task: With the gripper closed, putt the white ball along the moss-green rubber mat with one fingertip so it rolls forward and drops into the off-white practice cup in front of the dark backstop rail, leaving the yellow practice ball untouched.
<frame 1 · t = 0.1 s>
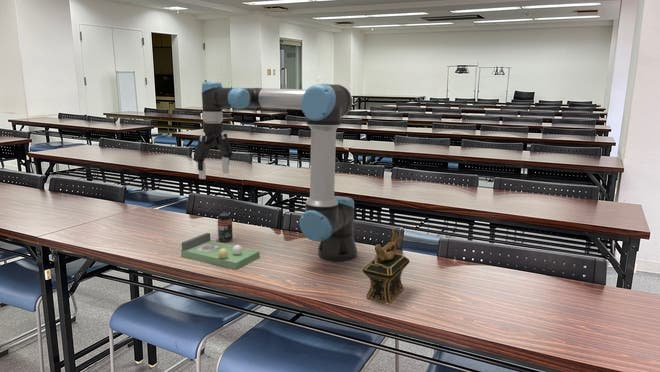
hand: (214, 176, 186), 28 cm above the table, fingers open, 13 cm apart
ball: (237, 249, 172), point 4 cm above the table, touching green
yellow ball: (223, 253, 168), point 4 cm above the table, touching green
green: (220, 256, 177), on the table
decorative box: (387, 292, 150), on the table
supplement bottle: (225, 240, 195), on the table
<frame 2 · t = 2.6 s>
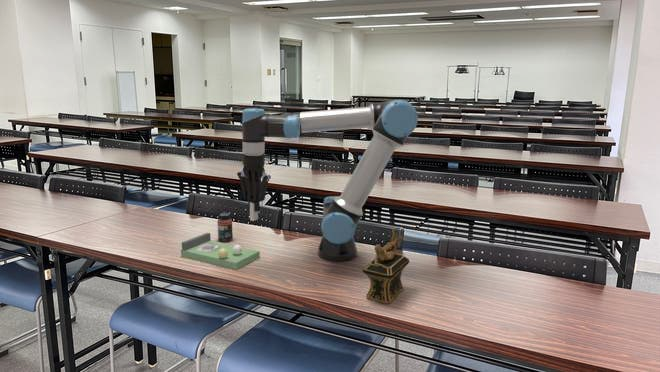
hand: (253, 219, 166), 17 cm above the table, fingers closed
nothing on the table moved.
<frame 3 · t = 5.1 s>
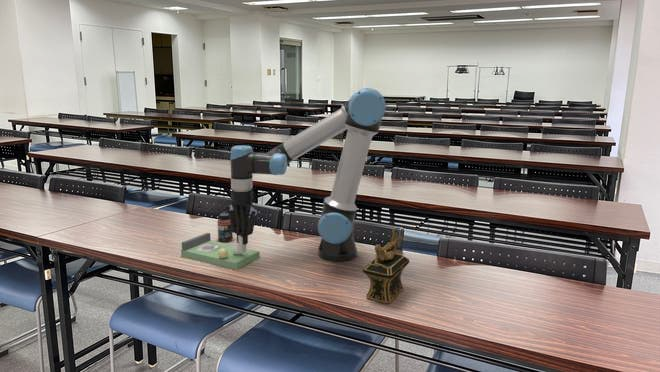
hand: (242, 252, 171), 4 cm above the table, fingers closed
ball: (237, 249, 172), point 4 cm above the table, touching green, gripper
everything else where it was.
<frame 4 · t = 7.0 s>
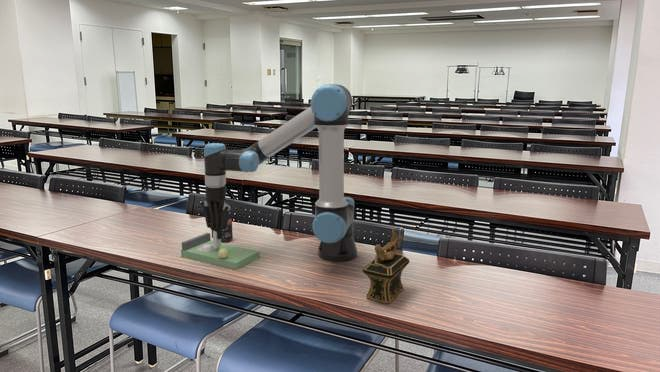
hand: (217, 246, 176), 4 cm above the table, fingers closed
ball: (206, 249, 179), point 2 cm above the table, tilted 140°
everything else where it was.
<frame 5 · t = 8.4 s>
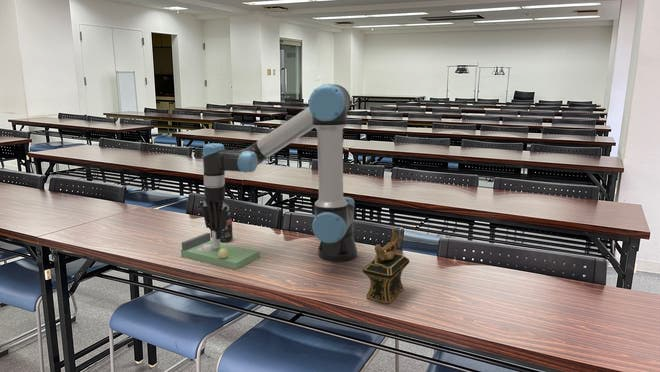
hand: (216, 246, 177), 4 cm above the table, fingers closed
nothing on the table moved.
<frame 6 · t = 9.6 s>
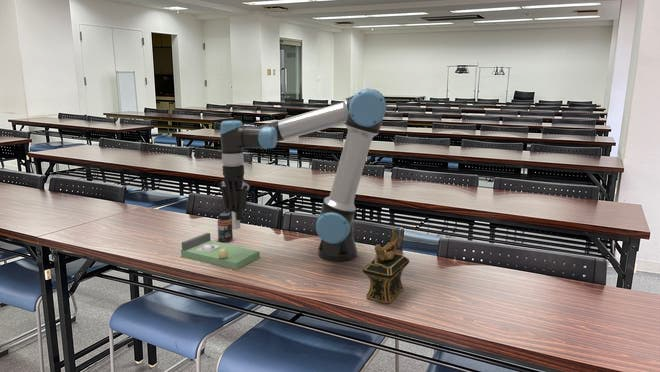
hand: (236, 228, 171), 12 cm above the table, fingers closed
nothing on the table moved.
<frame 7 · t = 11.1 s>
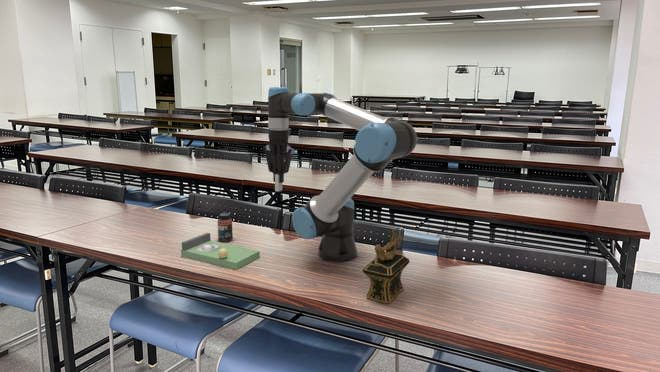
hand: (278, 190, 179), 24 cm above the table, fingers closed
nothing on the table moved.
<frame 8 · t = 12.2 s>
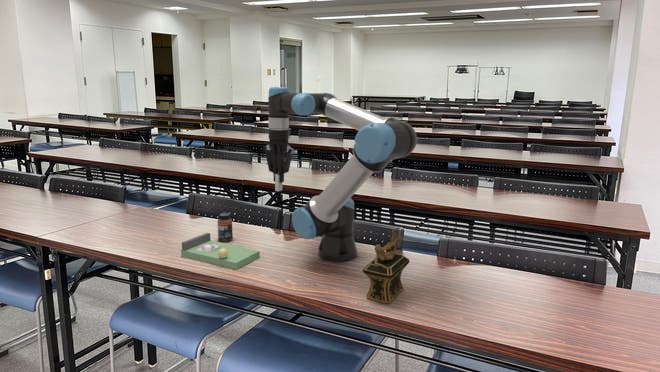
hand: (278, 190, 179), 24 cm above the table, fingers closed
nothing on the table moved.
at the end: ball 0.2 cm from the target spot in the green, point 1.8 cm above the green's base; ball point 1.8 cm above the table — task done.
